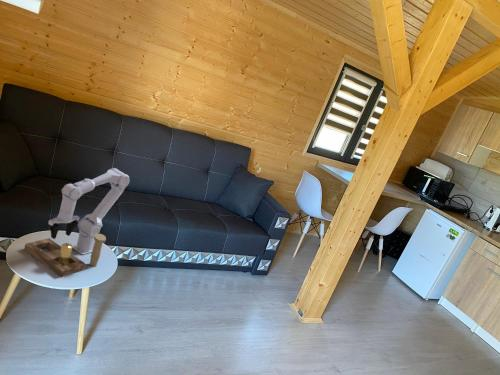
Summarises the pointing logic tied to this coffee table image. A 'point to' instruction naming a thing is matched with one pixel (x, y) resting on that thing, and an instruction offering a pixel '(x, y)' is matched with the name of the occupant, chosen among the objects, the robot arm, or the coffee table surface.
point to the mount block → (53, 257)
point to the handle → (97, 248)
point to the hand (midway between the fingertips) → (60, 236)
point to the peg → (65, 254)
